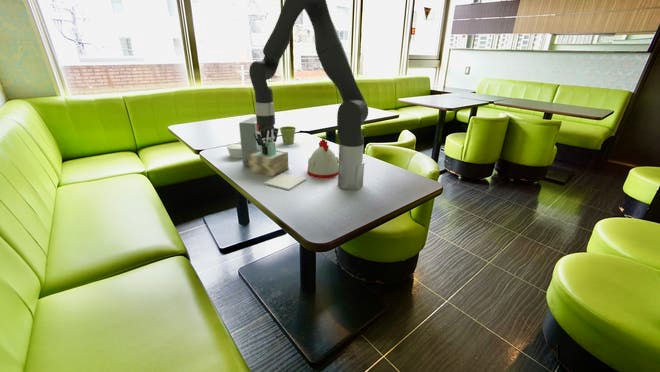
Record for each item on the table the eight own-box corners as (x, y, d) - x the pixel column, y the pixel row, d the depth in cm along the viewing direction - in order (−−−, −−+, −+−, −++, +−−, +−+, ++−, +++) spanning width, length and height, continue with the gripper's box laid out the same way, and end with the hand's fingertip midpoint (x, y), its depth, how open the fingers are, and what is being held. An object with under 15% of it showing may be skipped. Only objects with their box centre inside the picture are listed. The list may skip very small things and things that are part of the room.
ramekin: (254, 153, 156) (253, 143, 154) (247, 159, 146) (245, 149, 144) (233, 152, 157) (232, 142, 155) (224, 158, 147) (223, 148, 145)
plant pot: (295, 145, 170) (294, 130, 166) (279, 145, 170) (278, 129, 166) (297, 140, 178) (296, 126, 175) (281, 140, 179) (280, 126, 175)
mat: (306, 179, 124) (306, 178, 123) (289, 190, 114) (289, 188, 114) (282, 174, 129) (282, 173, 128) (264, 184, 119) (264, 182, 119)
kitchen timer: (314, 180, 123) (314, 145, 117) (303, 169, 135) (302, 137, 128) (344, 175, 129) (345, 142, 123) (330, 165, 140) (331, 134, 134)
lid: (284, 155, 131) (283, 141, 129) (271, 160, 124) (270, 146, 122) (265, 151, 136) (264, 138, 133) (252, 156, 129) (251, 143, 127)
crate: (288, 169, 135) (287, 152, 131) (273, 177, 126) (272, 159, 123) (265, 164, 140) (264, 147, 137) (249, 171, 131) (248, 154, 128)
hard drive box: (258, 167, 137) (254, 123, 128) (242, 165, 138) (237, 122, 130) (270, 156, 151) (268, 117, 142) (256, 155, 152) (253, 116, 144)
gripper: (261, 117, 115) (264, 159, 123) (282, 111, 127) (284, 150, 134) (246, 115, 119) (250, 156, 126) (268, 110, 130) (271, 148, 137)
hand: (268, 153), depth 130 cm, fingers closed on lid, 3 cm apart
